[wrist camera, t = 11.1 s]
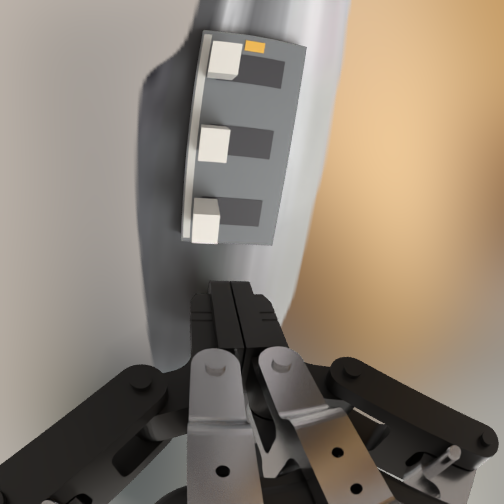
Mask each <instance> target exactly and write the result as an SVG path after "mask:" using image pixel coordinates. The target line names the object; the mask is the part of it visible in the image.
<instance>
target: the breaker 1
mask: <svg viewBox="0 0 504 504" xmlns="http://www.w3.org/2000/svg"><path fill="white" fill-rule="evenodd" d="M242 46H243V44H239V43H231V42H222V41H213V45H212V50H211V56H210V62H209V68H208V75H207V78H215V79H225V80H233V79H234V78H235V77H236V76H237V75H238V70H239V64H240V58H241V52H242Z"/></svg>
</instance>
